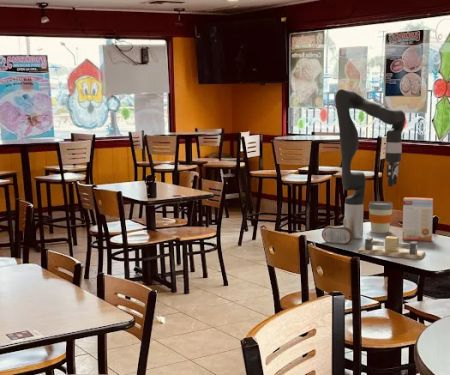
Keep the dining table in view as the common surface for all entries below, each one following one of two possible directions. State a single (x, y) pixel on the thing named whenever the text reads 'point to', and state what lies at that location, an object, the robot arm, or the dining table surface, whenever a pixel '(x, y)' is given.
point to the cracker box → (417, 218)
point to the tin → (337, 235)
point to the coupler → (392, 244)
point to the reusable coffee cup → (380, 216)
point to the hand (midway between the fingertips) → (392, 185)
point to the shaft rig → (403, 253)
